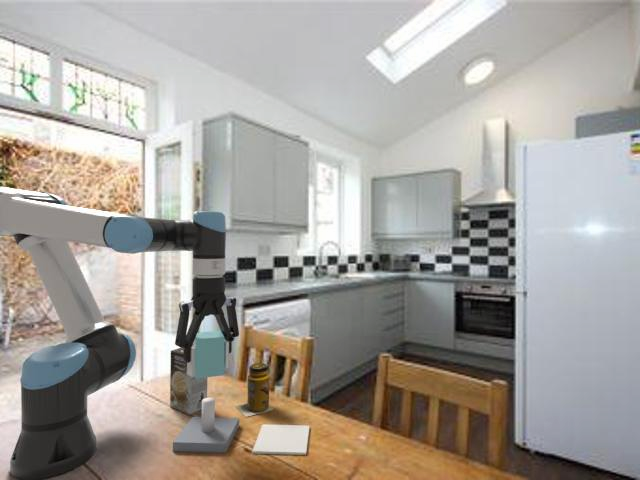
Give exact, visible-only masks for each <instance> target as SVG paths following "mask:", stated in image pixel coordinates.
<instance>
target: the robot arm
mask: <svg viewBox="0 0 640 480" xmlns="http://www.w3.org/2000/svg"><path fill="white" fill-rule="evenodd" d="M226 225H227V224H226V216H225V214H224V213H223V212H222V211H220V212H219V211H213V210H212V211H211V210H209V211H207V210H205V211H204V210H203V211H201V210H200V211H194V212H193V215H192V219H165V218H155V217H154V218H153V217H143V216H138V215H129V214H125V213H124V214H123V213H115V212H110V211H102V210H96V209H89V208H84V207H77V206H71V205H69V204H68V203H67V202H66V201H65V200H64V199H63V198H62V197H59V196H58V195H55V194H52V193H49V192H45V191H33V190H24V189H18V188H12V187H11V188H10V187H7V186H5V187H4V186H0V236H3V237H13V239H14V241H15V243H16V245H17V247H18V249H20V250H22V251H25V252H28V254H29V256H30V258H31V260H32V262H33V265H34V267H35V269H36V270H37V274H38V276H39V278H40V280H41V282H42V284H43V286H44V288H45V290H46V293H47V296H48V297H49V299H50V301H51V304H52V306H53V309H54V310H55V312H56V314H57V317H58V318H59V321H60V323H61V325H62V328H63V330H64V332H65V334H66V337H67V338H66V340H65V342H64V343H59V344H57V345H51V346H47V347H44V348H41V349H39V350H37V351H35V352H33V353H32V354H30V355H29V356H27V358H26V359H25V360H24V362H23V363H22V367H21V368H22V369H21V376H20V387H21V388H20V393H21V394H20V395H21V396H20V397H21V398H20V401H21V402H20V403H21V404H20V405H21V408H20V409H21V418H20V419H21V424H20V425H21V426H20V427H21V430H20V434H19V436H18V439H17V440H16V443H15V446H14V449H13V451H12V452H13V453H12V455H11V457H10V459H9V460H10V463H9V464H10V465H9V473H10V475H11V476H12V477H13V478H15V479H18V480H43V479H47V478H51V477H55V476H58V475H63V474H64V473H67V472H69V471H72V470H73V469H74V470H75V469H76V468H78V467H80V466H82V465H83V464H85V463H86V462H87V461H88V460H90V459H91V458H92V457H93V456H94V454H95V453H96V450H97V436H96V435H95V433H94V430H93V427H92V424H91V422H90V419H89V415H88V396H90V395H92V394H94V393H95V392H98V391H99V390H101V389H103V388H105V387H107V386H109V385H111V384H113V383H116V382H118V381H119V380H121V379H122V378H123V377H124V376H126V375H127V374H128V373H129V372H130V371H131V369H132V368H133V367H134V364H135V361H136V358H137V348H136V345H135V343H134V341H133V339H132V338H131V337H130V336H129V335H127V334H125V333H124V332H118V329H117V328H116V325H115V324H114V322H109V321H106V320H105V318H104V316H103V314H102V312H101V310H100V307H99V305H98V303H97V300H96V299H95V297H94V295H93V292H92V291H91V289H90V287H89V284H88V282H87V280H86V278H85V275H84V274H83V271H82V269H81V267H80V264H79V263H78V260H77V259H76V256H75V255H74V252H73V250H72V248H71V245H70V243H69V242H71V243H78V244H84V245H89V246H94V247H95V246H96V247H103V248H108V249H109V248H110V249H112V250H113V251H115V252H116V253H121V254H132V255H134V254H138V253H151V252H154V253H155V252H172V251H174V252H175V251H176V252H178V251H180V252H185V251H186V252H192V275H193V276H194V277H193V278H192V297H191V299H190V301H186V302H183V301H181V302H179V304H178V308H179V319H178V322H177V330H176V334H175V341H174V345H175V346H177V347H179V348H183V360H184V361H185V362H186V363H187V375H189V376H191V377H195V348H194V340H195V338H196V335H197V333H198V332H199V330H200V327H201V324H202V322H203V321H204V320H205V317H208V316H211V315H212V316H214V317H215V320H216V323H217V325H218V328H219V331H221V332H222V334H223V335H224V370H225V369H229V368H230V367H229V364H230V361H229V359H230V357H229V356H230V355H229V354H231V353H232V351H233V349H232V346H233V345H232V344H233V341H235V338H237V337H239V335H240V330H239V329H240V328H239V325H238V324H239V323H238V317H237V309H236V305H237V298H236V297H231V296H228V297H227V296H226V292H225V291H226V277H225V276H224V275H225V274H226V246H227V245H226V243H227V242H226V241H227V240H226V239H227V227H226ZM224 305H225V306H226V314H227V315H226V317H227V320H226V317H225V313H224V310H223V307H224ZM192 307H193V309H194V312H193V314H192V320H191V322H190V324H189V320H190V312H191V310H192Z"/></svg>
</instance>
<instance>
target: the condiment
mask: <svg viewBox="0 0 640 480" xmlns="http://www.w3.org/2000/svg"><path fill="white" fill-rule="evenodd" d="M248 368H249V372H248V375H247V403H245V404H239V405H236V408H237V409H238V410H239V412H240V413H241V414H243V416H244V417H245V418H247V417H250V416H251V417H252V416H254V415H258V414H264V413H266V412H270V411H273V410H275V408H274V407H273V406H271V405H270V374H269V366H268V365H267V363H263V362H257V363H253V364H250V365H249V367H248Z"/></svg>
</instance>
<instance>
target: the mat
mask: <svg viewBox="0 0 640 480" xmlns="http://www.w3.org/2000/svg"><path fill="white" fill-rule="evenodd" d="M310 427H311V425H297V424H295V425H293V424H265V423H264V424H262V425H261V428H260V430H259V433H258V435H257V437H256V438H257V439H256V441H255V442H254V446H253V448H252V450H251V454H256V455H257V454H260V455H262V454H264V455H265V454H266V455H291V456H292V455H299V456H307V449H308V444H309V442H308V441H309V435H310V434H309V433H310Z"/></svg>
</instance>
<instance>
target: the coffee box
mask: <svg viewBox="0 0 640 480" xmlns="http://www.w3.org/2000/svg"><path fill="white" fill-rule="evenodd" d="M169 370H170V379H169V380H170V383H169V384H170V386H169V387H170V389H169V393H170V394H169V395H170V396H169V407H171V408H173V409H175V410H178V411H180V412H183V413H185V414H187V415H192V414H194V413H196V412H199V411H200V410H201V411H202V400H203V399H205V398H208V377H206V378H198V379H195V377H191V376H189V375H187V363H186V362H185V361H184V360H183V348H181V347H179V348H176V349H171V350H170V369H169Z"/></svg>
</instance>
